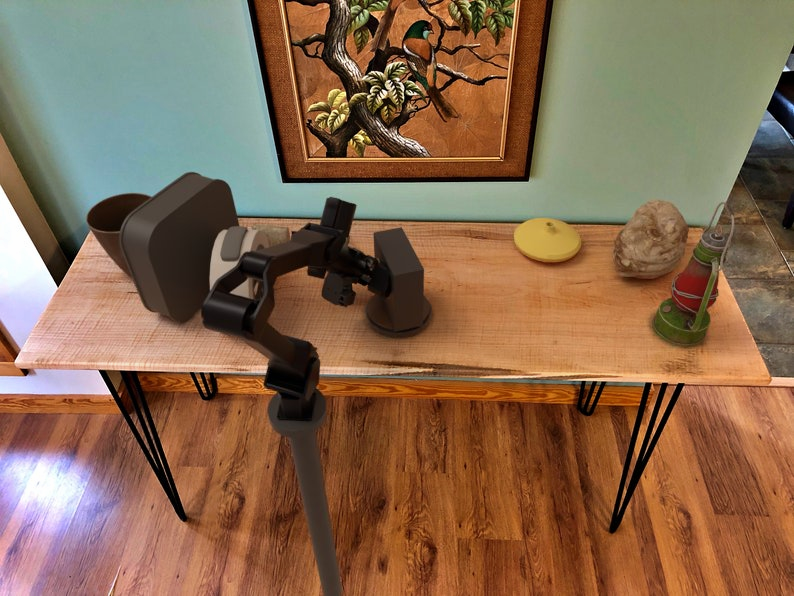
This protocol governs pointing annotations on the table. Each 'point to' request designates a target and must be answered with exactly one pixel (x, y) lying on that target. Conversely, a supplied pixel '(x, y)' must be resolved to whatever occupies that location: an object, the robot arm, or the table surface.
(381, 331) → the turntable base
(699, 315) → the lantern
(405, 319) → the dark upright block
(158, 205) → the speaker
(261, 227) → the cuneiform tablet
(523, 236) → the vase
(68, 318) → the table surface
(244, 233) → the alarm clock
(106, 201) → the flower pot
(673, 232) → the rock
